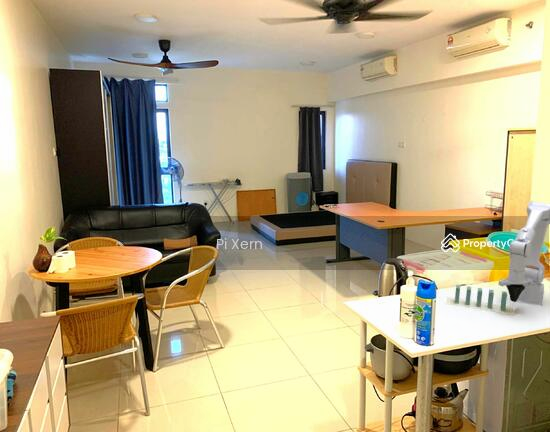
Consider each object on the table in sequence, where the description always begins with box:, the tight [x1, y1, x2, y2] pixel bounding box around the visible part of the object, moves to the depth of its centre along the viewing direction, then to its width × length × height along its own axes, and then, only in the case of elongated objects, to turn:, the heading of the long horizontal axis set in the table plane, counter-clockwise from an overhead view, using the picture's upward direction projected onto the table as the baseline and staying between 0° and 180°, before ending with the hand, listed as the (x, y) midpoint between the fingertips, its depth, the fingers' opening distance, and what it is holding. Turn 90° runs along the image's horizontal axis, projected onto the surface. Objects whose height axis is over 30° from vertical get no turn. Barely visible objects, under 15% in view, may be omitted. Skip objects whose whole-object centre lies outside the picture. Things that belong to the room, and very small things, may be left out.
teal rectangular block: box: [476, 287, 483, 307], centre depth 178 cm, size 2×4×7 cm, turn 155°
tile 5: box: [454, 284, 461, 304], centre depth 182 cm, size 2×4×7 cm, turn 155°
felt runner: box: [445, 296, 516, 316], centre depth 178 cm, size 26×9×1 cm, turn 65°
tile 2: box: [487, 289, 495, 309], centre depth 176 cm, size 2×4×7 cm, turn 155°
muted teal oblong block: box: [465, 285, 472, 305], centre depth 180 cm, size 2×4×7 cm, turn 155°
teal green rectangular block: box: [500, 291, 508, 311], centre depth 174 cm, size 2×4×7 cm, turn 155°
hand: (513, 301), depth 172 cm, fingers closed
